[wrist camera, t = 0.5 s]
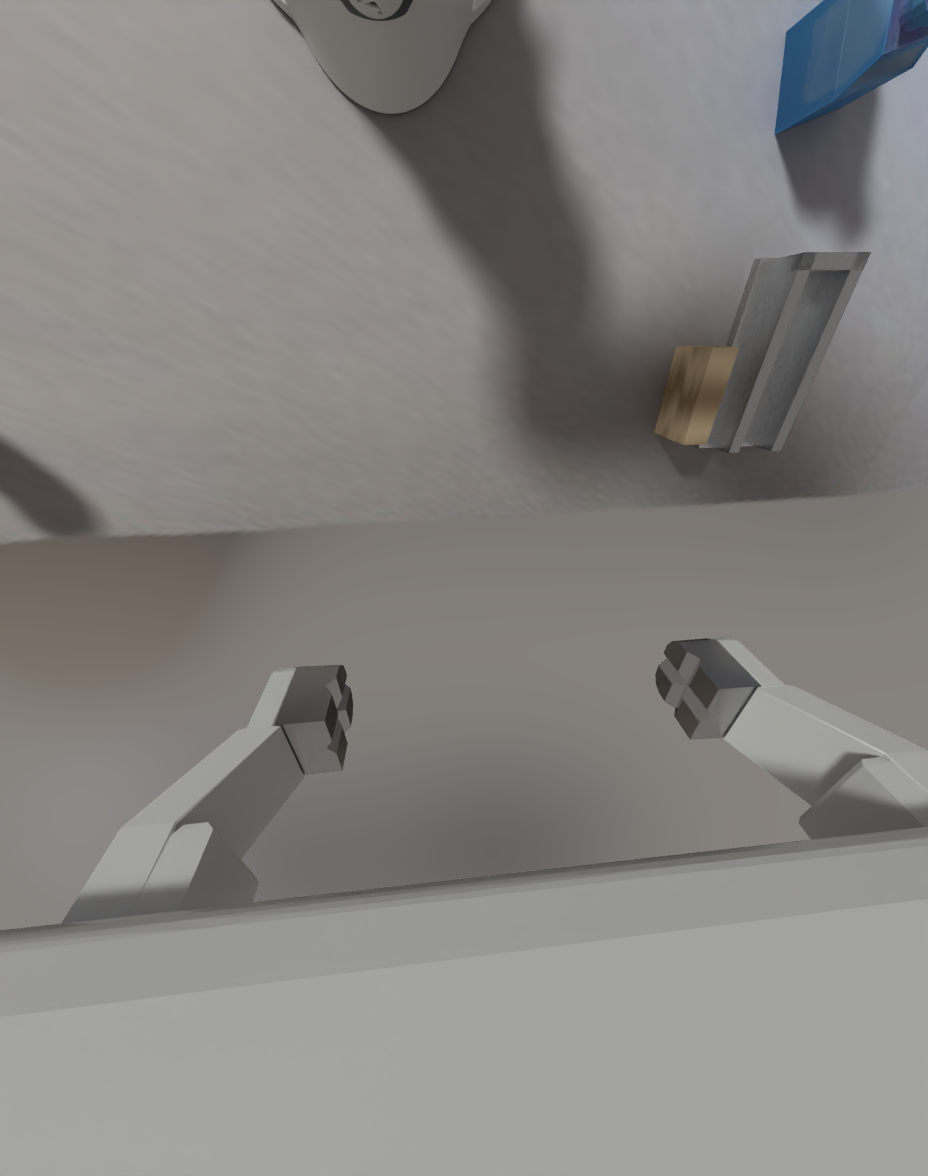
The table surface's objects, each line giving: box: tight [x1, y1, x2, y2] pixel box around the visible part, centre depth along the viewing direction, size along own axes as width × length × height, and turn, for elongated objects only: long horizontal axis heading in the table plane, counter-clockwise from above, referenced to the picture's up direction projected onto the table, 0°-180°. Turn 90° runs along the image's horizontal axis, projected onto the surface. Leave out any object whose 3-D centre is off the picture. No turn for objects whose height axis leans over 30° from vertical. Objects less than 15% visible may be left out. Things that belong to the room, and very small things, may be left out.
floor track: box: [694, 252, 871, 453], centre depth 45 cm, size 20×12×4 cm, turn 1°
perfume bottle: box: [775, 0, 928, 134], centre depth 29 cm, size 6×6×12 cm
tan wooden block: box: [654, 346, 739, 445], centre depth 45 cm, size 10×3×7 cm, turn 1°
